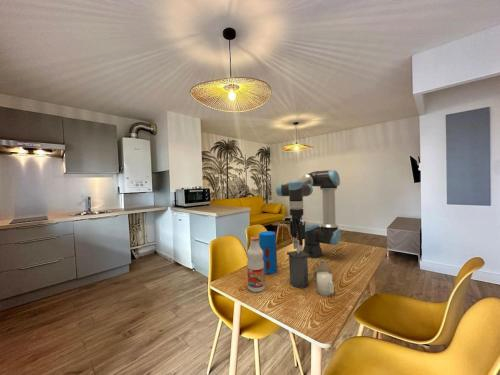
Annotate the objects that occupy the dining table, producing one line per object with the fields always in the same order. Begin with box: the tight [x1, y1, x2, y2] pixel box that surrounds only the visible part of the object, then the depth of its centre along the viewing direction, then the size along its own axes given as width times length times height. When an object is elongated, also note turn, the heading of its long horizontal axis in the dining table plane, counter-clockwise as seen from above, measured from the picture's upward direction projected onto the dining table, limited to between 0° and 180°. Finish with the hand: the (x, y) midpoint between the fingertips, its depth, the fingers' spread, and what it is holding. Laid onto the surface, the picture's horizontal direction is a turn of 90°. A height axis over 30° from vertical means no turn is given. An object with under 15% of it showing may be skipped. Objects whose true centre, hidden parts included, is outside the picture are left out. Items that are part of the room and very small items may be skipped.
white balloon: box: [316, 272, 335, 297], centre depth 106 cm, size 8×10×9 cm
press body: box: [286, 250, 310, 289], centre depth 118 cm, size 10×13×17 cm
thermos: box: [258, 230, 278, 276], centre depth 135 cm, size 11×11×25 cm
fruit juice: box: [246, 236, 266, 293], centre depth 114 cm, size 9×9×28 cm
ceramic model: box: [312, 260, 334, 283], centre depth 123 cm, size 14×11×10 cm
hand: (298, 249), depth 117 cm, fingers open, 4 cm apart
